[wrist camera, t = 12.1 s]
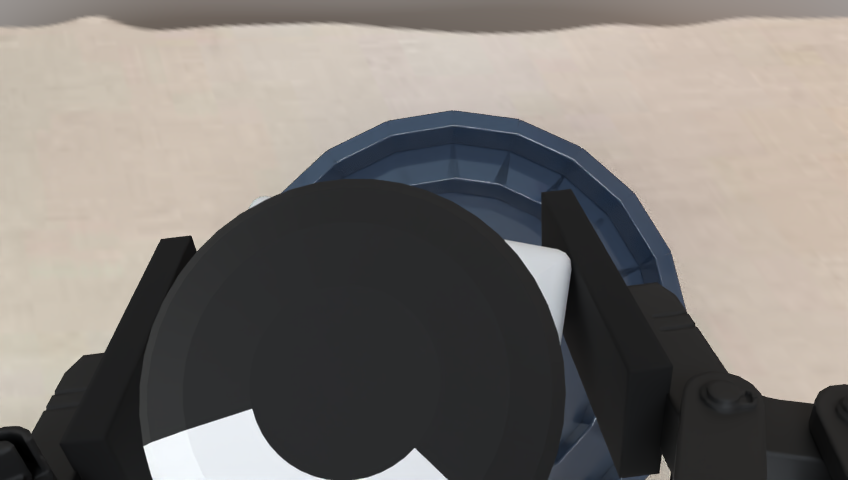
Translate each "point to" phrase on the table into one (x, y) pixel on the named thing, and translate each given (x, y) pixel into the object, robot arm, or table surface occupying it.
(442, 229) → the medicine bottle
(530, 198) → the bowl
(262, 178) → the table surface
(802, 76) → the table surface
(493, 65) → the table surface
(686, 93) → the table surface
